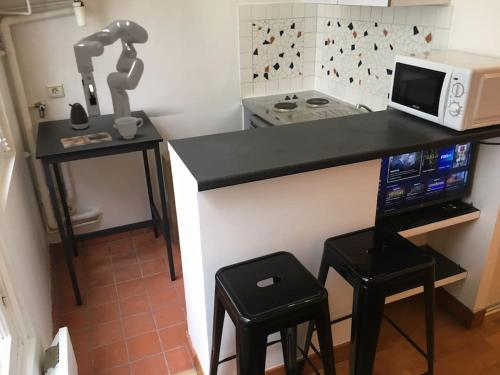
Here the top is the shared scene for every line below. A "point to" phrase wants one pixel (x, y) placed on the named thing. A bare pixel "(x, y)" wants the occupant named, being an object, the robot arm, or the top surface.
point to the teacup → (128, 126)
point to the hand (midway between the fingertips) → (92, 103)
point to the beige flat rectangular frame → (79, 140)
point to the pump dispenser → (78, 116)
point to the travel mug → (92, 110)
